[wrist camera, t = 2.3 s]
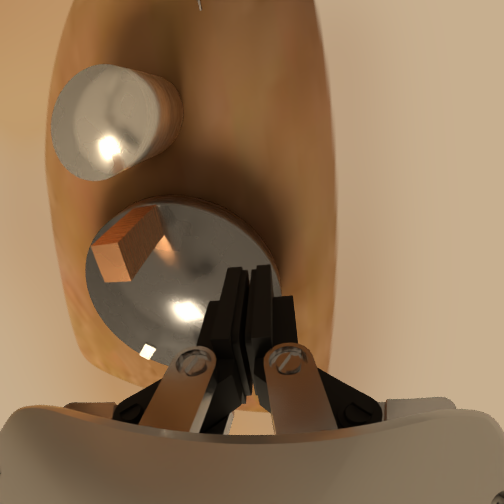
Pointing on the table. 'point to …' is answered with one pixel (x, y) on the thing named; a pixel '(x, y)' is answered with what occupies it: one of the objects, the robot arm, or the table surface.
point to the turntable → (168, 270)
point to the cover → (113, 120)
